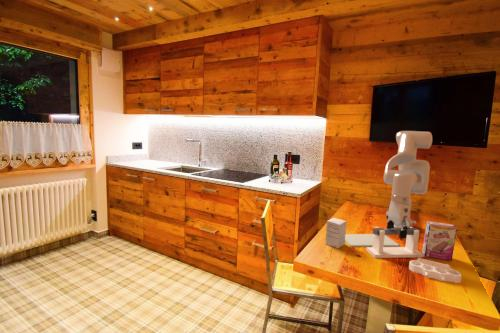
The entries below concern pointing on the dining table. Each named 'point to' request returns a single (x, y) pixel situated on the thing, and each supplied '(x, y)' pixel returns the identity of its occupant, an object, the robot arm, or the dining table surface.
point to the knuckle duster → (435, 270)
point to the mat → (366, 240)
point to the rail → (394, 231)
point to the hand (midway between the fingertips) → (396, 233)
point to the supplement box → (335, 232)
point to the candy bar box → (439, 240)
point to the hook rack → (394, 252)
